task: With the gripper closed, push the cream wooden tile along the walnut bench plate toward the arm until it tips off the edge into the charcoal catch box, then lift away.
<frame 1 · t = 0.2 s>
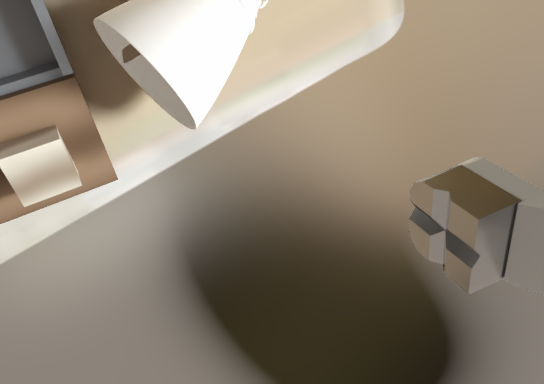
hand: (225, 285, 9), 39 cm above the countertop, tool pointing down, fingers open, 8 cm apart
bench plate: (32, 137, 46), on the countertop
tile: (38, 158, 44), point 3 cm above the countertop, touching bench plate
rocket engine: (205, 14, 47), on the countertop
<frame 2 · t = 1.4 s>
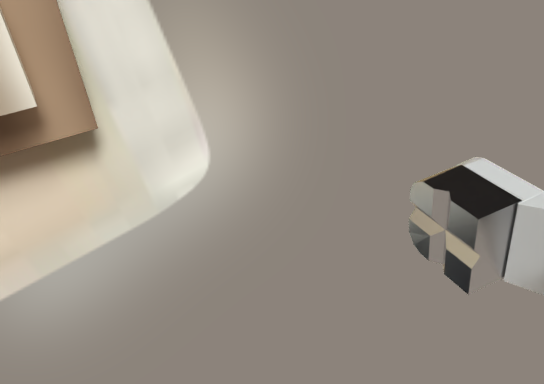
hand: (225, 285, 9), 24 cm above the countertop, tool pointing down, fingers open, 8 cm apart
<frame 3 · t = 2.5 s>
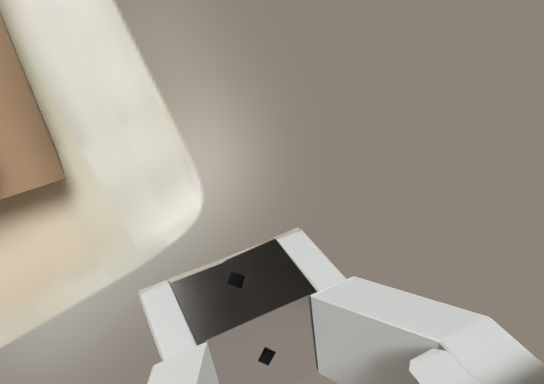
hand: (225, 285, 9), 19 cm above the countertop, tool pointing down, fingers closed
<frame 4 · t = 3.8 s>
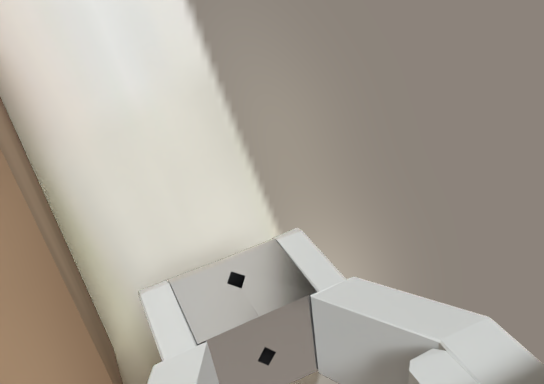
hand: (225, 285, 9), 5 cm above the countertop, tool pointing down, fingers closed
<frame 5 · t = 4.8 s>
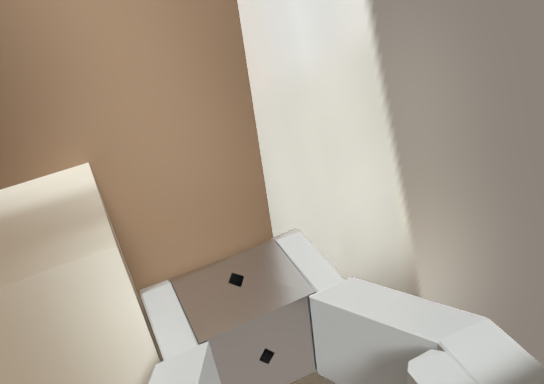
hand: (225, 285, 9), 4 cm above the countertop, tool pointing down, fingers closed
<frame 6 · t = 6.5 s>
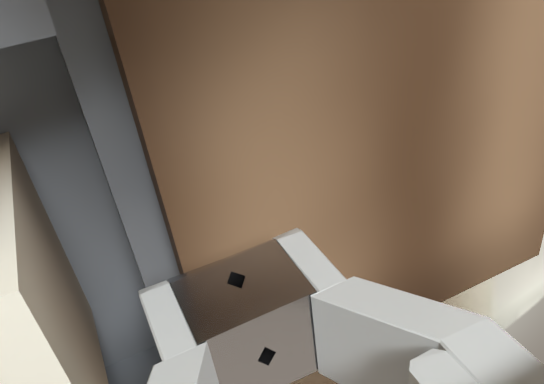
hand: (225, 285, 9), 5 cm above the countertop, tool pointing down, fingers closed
bench plate: (335, 116, 14), on the countertop
tile: (67, 303, 9), point 3 cm above the countertop, tilted 90°, touching catch box
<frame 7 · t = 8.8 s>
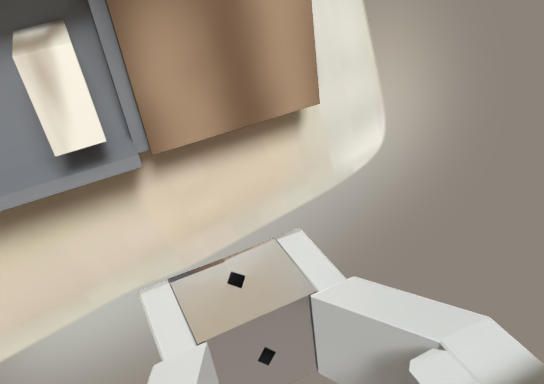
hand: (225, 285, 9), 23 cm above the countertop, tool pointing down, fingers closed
bench plate: (207, 27, 31), on the countertop
tile: (84, 78, 26), point 3 cm above the countertop, tilted 90°, touching catch box
catch box: (6, 77, 27), on the countertop
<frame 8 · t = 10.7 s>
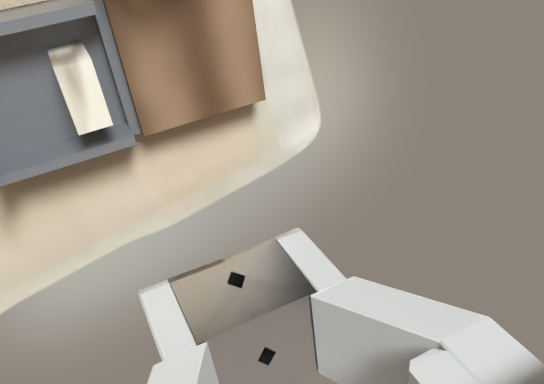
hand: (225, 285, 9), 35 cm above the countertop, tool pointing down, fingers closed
bench plate: (182, 45, 42), on the countertop
tile: (96, 82, 38), point 3 cm above the countertop, tilted 90°, touching catch box
catch box: (40, 81, 39), on the countertop
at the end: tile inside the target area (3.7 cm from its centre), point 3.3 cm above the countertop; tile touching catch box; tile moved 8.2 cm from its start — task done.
